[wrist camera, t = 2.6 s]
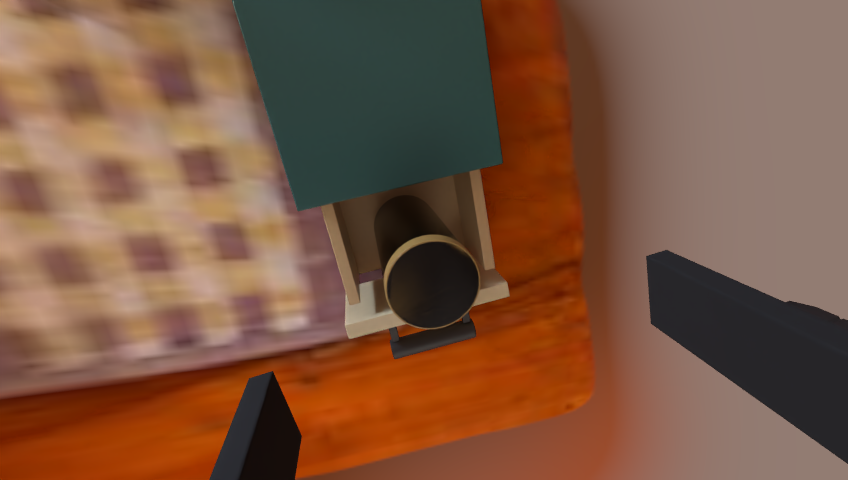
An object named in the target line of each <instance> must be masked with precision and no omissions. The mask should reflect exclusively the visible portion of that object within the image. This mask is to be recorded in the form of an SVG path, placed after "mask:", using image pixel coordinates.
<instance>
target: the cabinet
mask: <svg viewBox="0 0 848 480" xmlns="http://www.w3.org/2000/svg"><path fill="white" fill-rule="evenodd" d="M232 3H233V6H234V9H235V12H236V15H237V18H238V22H239V25H240V28H241V31H242V34H243V38H244V41H245V44H246V47H247V50H248V54H249V57H250V60H251V63H252V66H253V70H254V73H255V76H256V79H257V82H258V86H259V89H260V92H261V95H262V98H263V102H264V105H265V108H266V111H267V114H268V118H269V121H270V124H271V127H272V130H273V134H274V137H275V140H276V143H277V146H278V150H279V153H280V156H281V159H282V162H283V165H284V169H285V172H286V175H287V178H288V181H289V185H290V188H291V191H292V194H293V197H294V201H295V204H296V207H297V210H298V211H302V210H306V209H311V208H315V207H319V206H323V205H328V204H332V203H336V202H341V201H345V200H349V199H353V198H358V197H362V196H366V195H371V194H375V193H379V192H383V191H388V190H392V189H396V188H401V187H405V186H409V185H413V184H418V183H422V182H426V181H431V180H435V179H439V178H443V177H448V176H452V175H456V174H461V173H465V172H469V171H473V170H478V169H482V168H486V167H491V166H495V165H499V164H502V163H503V160H502V153H501V145H500V138H499V130H498V123H497V116H496V108H495V101H494V94H493V86H492V79H491V72H490V64H489V57H488V49H487V42H486V35H485V27H484V20H483V13H482V5H481V0H232Z"/></svg>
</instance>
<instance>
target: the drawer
mask: <svg viewBox="0 0 848 480" xmlns="http://www.w3.org/2000/svg"><path fill="white" fill-rule="evenodd" d="M401 195H411V196H415V197H418V198H420V199H422V200H424V201H425V202H426V203H427V204H428V205H429V206H430V207H431V208H432V210H433V211H434V212H435V213H436V214H437V216H438V217H439V218H440V219H441V220H442V222H443V223H444V224H445V225H446V226H447V228H448V229H449V230H450V231H451V232H452V234H453V235H454V236H455V237H456V238H457V240H458V241H459V242H460V243H461V244H462V245H463V246H464V247H466V248H467V249H468V251H469V252H470V253H471V254H472V256H473V258H474V259H475V261H476V263H477V265H478V268H479V272H480V279H481V280H480V290H479V294H478V297H477V299H476V301H475V303H474V305H473V306H475V305H479V304H483V303H486V302H490V301H494V300H498V299H501V298H505V297H509V290H508V283H507V282H506V281H505V279H504V278H503V277H502V276H501V275H500V274H499V273H498V272H497V271H496V270H495V269H494V268H495V263H494V256H493V250H492V244H491V237H490V231H489V224H488V218H487V211H486V205H485V198H484V192H483V186H482V179H481V173H480V169H478V170H473V171H469V172H465V173H461V174H456V175H452V176H448V177H443V178H439V179H435V180H431V181H426V182H422V183H418V184H413V185H409V186H405V187H401V188H396V189H392V190H388V191H383V192H379V193H375V194H371V195H366V196H362V197H358V198H353V199H349V200H345V201H341V202H336V203H332V204H328V205H323V206H321V209H322V213H323V216H324V220H325V223H326V227H327V230H328V233H329V237H330V240H331V244H332V247H333V250H334V254H335V257H336V261H337V264H338V268H339V271H340V274H341V278H342V281H343V285H344V288H345V291H346V305H345V328H346V331H347V334H348V338H349V339H351V338H355V337H359V336H363V335H366V334H370V333H374V332H378V331H381V330H385V329H389V331H390V335H391V338H392V340H390V344H391V349H392V353H393V357H394V359H398V358H402V357H405V356H409V355H413V354H416V353H420V352H424V351H427V350H431V349H434V348H438V347H442V346H445V345H449V344H453V343H456V342H460V341H464V340H467V339H471V338H475V337H476V330H475V326H474V323H473V321H472V319H470V316H469V311H468V313H467V314H465V315H464V316H463V317H462V321H458V322H455V323H453V324H451V325H449V326H446V327H443V328H438V329H429V330H425V331H421V332H418V333H414V334H410V335H407V336H403V337H399V335H398V331H397V327H396V326H400V325H404V324H406V323H404V322H403V321H401V320H400V319H399V318H398V317H397V316H396V315H395V314H394V313H393V312H392V310H391V309H390V307H389V305H388V302H387V299H386V295H385V290H384V280H383V278H382V279H378V280H374V281H370V282H366V283H362V284H359V274H361V273H365V272H369V271H373V270H377V269H381V264H380V259H379V254H378V248H377V243H376V238H375V233H374V220H375V216H376V214H377V212H378V210H379V209H380V207H381V206H382V205H383V204H384V203H385V202H386V201H388V200H390V199H391V198H394V197H396V196H401Z"/></svg>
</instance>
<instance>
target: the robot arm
mask: <svg viewBox="0 0 848 480" xmlns="http://www.w3.org/2000/svg"><path fill="white" fill-rule="evenodd" d="M646 259H647V273H648V287H649V302H650V314H651V315H650V316H651V324H652V325H654V326H655V327H656V328H658V329H659V330H661V331H662V332H663V333H665V334H666V335H668V336H669V337H671V338H672V339H673V340H675V341H676V342H677V343H679V344H680V345H682V346H683V347H685V348H686V349H687V350H689V351H690V352H692V353H693V354H694V355H696V356H697V357H699V358H700V359H701V360H703V361H704V362H706V363H707V364H708V365H710V366H711V367H713V368H714V369H715V370H717V371H718V372H720V373H721V374H722V375H724V376H725V377H727V378H728V379H729V380H731V381H732V382H734V383H735V384H737V385H738V386H739V387H741V388H742V389H743V390H745V391H746V392H748V393H749V394H750V395H752V396H753V397H755V398H756V399H758V400H759V401H760V402H762V403H763V404H765V405H766V406H767V407H769V408H770V409H772V410H773V411H774V412H776V413H777V414H779V415H780V416H782V417H783V418H784V419H786V420H787V421H788V422H790V423H791V424H793V425H794V426H795V427H797V428H798V429H800V430H801V431H802V432H804V433H805V434H807V435H808V436H809V437H811V438H812V439H814V440H815V441H817V442H818V443H819V444H821V445H822V446H824V447H825V448H826V449H828V450H829V451H831V452H832V453H833V454H835V455H836V456H837V457H839V458H840V459H842V460H843V461H845V462H846V463H847V464H848V320H845V319H840V318H839V317H838V316H836V315H834V314H831V313H829V312H827V311H824V310H822V309H819V308H817V307H814V306H809V305H805V304H801V303H797V302H792V301H788V302H783V301H781V300H779V299H776V298H774V297H772V296H770V295H767V294H765V293H762V292H760V291H758V290H756V289H754V288H751V287H749V286H747V285H744V284H742V283H740V282H738V281H736V280H733V279H731V278H729V277H727V276H724V275H722V274H720V273H718V272H715V271H713V270H711V269H708V268H706V267H704V266H701V265H699V264H697V263H695V262H693V261H690V260H688V259H686V258H684V257H681V256H679V255H677V254H674V253H672V252H670V251H668V250H665V251H662V252H658V253H655V254H652V255H649V256H646ZM301 437H302V436H301V433H300V431H299V429H298V427H297V424H296V422H295V420H294V418H293V415H292V413H291V411H290V409H289V406H288V404H287V402H286V400H285V397H284V395H283V393H282V391H281V388H280V386H279V384H278V382H277V380H276V377H275V375H274V373H273V371H272V372H268V373H265V374H262V375H259V376H255V377H252V378H249V380H248V383H247V385H246V388H245V390H244V393H243V395H242V398H241V401H240V403H239V406H238V408H237V411H236V413H235V416H234V418H233V421H232V423H231V426H230V429H229V431H228V434H227V436H226V439H225V441H224V444H223V446H222V449H221V451H220V454H219V457H218V459H217V462H216V464H215V467H214V469H213V472H212V474H211V477H210V479H209V480H295V475H296V468H297V462H298V456H299V450H300V444H301Z"/></svg>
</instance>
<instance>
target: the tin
mask: <svg viewBox="0 0 848 480" xmlns="http://www.w3.org/2000/svg"><path fill="white" fill-rule="evenodd" d="M374 233H375V238H376V243H377V248H378V254H379V259H380V264H381V269H382V275H383V280H384V290H385V295H386V299H387V302H388V305H389V307H390V309H391V310H392V312H393V313H394V314H395V315H396V316H397V317H398V318H399V319H400V320H401V321H403V322H404V323H406V324H408V325H410V326H413V327H416V328H420V329H438V328H443V327H446V326H449V325H451V324H453V323H455V322H456V321H458V320H460V319H461V318H462V317H463V316H464V315H465V314H467V313H468V311H469V310H470V309H471V308H472V306H473V305H474V303H475V301H476V299H477V297H478V294H479V290H480V280H481V279H480V272H479V268H478V265H477V263H476V261H475V259H474V258H473V256H472V255H471V254H470V253H469V252H468V250H467V249H466V248H465V247H464V246H463V245H462V244H461V243H460V242H459V241H458V240H457V238H456V237H455V236H454V235H453V234H452V232H451V231H450V230H449V229H448V228H447V226H446V225H445V224H444V223H443V222H442V220H441V219H440V218H439V217H438V216H437V214H436V213H435V212H434V211H433V210H432V208H431V207H430V206H429V205H428V204H427V203H426V202H425V201H424V200H422V199H420V198H418V197H415V196H411V195H401V196H396V197H394V198H391V199H390V200H388V201H386V202H385V203H384V204H383V205H382V206H381V207H380V209H379V210H378V212H377V214H376V216H375V220H374Z"/></svg>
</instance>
